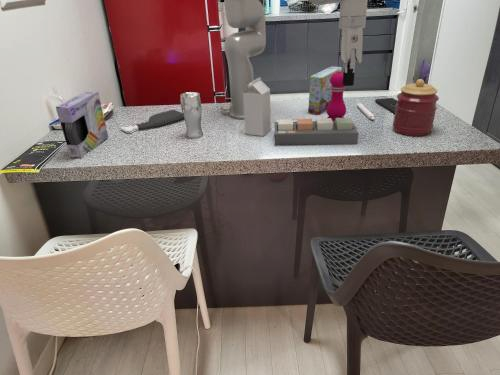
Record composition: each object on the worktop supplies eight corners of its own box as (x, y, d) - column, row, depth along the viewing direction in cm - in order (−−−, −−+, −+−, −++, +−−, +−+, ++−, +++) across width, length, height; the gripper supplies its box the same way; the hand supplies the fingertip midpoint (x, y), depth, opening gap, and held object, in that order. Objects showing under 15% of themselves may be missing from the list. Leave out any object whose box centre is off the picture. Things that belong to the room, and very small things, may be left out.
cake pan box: (81, 160, 121) (65, 106, 112) (67, 159, 122) (50, 106, 113) (110, 138, 137) (98, 90, 129) (98, 137, 138) (85, 90, 129)
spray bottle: (187, 120, 152) (131, 138, 138) (173, 115, 159) (119, 131, 146) (186, 113, 150) (129, 130, 137) (172, 108, 157) (117, 123, 144)
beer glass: (196, 130, 140) (191, 90, 132) (208, 134, 135) (204, 93, 128) (181, 136, 136) (175, 95, 128) (192, 140, 131) (187, 98, 124)
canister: (385, 131, 130) (392, 80, 122) (401, 121, 138) (409, 73, 130) (423, 139, 122) (433, 85, 114) (437, 128, 131) (448, 77, 122)
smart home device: (396, 112, 143) (374, 99, 161) (395, 117, 144) (374, 102, 162) (416, 111, 144) (392, 97, 162) (416, 115, 145) (392, 101, 162)
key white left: (278, 135, 125) (278, 124, 124) (278, 129, 130) (278, 119, 128) (293, 134, 125) (293, 123, 123) (292, 129, 129) (292, 119, 128)
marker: (375, 121, 140) (376, 115, 139) (370, 122, 140) (371, 116, 139) (361, 107, 156) (362, 102, 155) (356, 108, 156) (357, 102, 155)
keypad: (274, 145, 124) (274, 133, 122) (274, 132, 134) (274, 121, 132) (357, 144, 122) (358, 132, 120) (350, 131, 132) (351, 119, 130)
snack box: (320, 115, 149) (322, 77, 141) (307, 113, 152) (308, 76, 144) (340, 101, 164) (342, 66, 157) (328, 100, 167) (330, 65, 160)
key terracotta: (297, 134, 125) (297, 123, 123) (296, 129, 129) (297, 118, 127) (312, 134, 125) (313, 123, 123) (311, 129, 129) (311, 118, 127)
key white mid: (317, 134, 124) (317, 123, 123) (315, 129, 129) (316, 118, 127) (332, 133, 124) (333, 123, 122) (330, 128, 128) (331, 118, 127)
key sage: (336, 133, 124) (337, 122, 122) (334, 128, 128) (335, 118, 126) (352, 133, 124) (353, 122, 122) (349, 128, 128) (350, 117, 126)
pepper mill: (345, 125, 137) (350, 70, 128) (325, 125, 139) (328, 70, 129) (345, 119, 143) (349, 65, 134) (326, 118, 145) (329, 65, 135)
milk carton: (270, 130, 137) (269, 77, 128) (263, 136, 131) (261, 82, 122) (253, 127, 140) (251, 76, 130) (245, 134, 134) (242, 81, 125)
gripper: (371, 24, 103) (364, 90, 111) (360, 19, 116) (355, 79, 124) (343, 25, 103) (339, 91, 112) (335, 20, 116) (332, 80, 125)
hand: (347, 85), depth 118 cm, fingers closed
